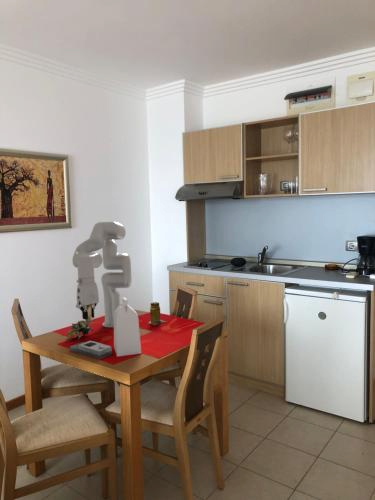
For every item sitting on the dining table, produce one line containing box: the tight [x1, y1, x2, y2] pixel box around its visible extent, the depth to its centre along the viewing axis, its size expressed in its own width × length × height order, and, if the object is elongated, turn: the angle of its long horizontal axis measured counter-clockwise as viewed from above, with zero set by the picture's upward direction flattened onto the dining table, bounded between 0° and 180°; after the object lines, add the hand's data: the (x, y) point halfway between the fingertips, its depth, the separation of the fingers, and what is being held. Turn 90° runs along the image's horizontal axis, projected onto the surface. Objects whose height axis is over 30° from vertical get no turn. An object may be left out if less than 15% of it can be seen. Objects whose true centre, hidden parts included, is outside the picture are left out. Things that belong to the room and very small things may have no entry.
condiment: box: [148, 301, 166, 326], centre depth 249 cm, size 7×8×12 cm
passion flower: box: [67, 319, 95, 341], centre depth 224 cm, size 11×11×12 cm
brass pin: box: [84, 305, 93, 325], centre depth 200 cm, size 3×3×9 cm
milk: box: [113, 296, 142, 357], centre depth 202 cm, size 12×12×26 cm
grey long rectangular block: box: [69, 340, 113, 360], centre depth 202 cm, size 22×8×5 cm, turn 52°
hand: (88, 317), depth 200 cm, fingers closed on brass pin, 3 cm apart
